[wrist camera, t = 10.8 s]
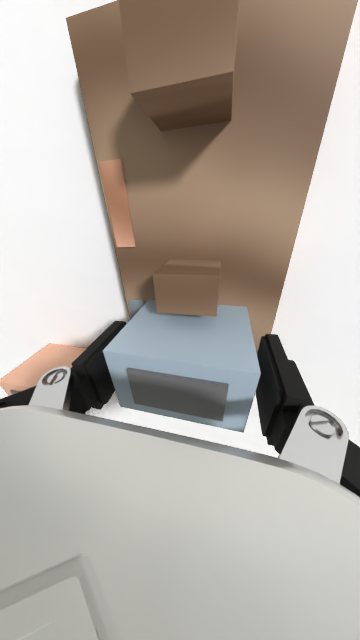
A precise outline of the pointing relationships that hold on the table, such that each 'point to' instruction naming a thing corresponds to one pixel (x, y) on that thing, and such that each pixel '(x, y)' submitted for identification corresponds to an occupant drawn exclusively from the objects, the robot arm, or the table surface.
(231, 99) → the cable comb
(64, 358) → the terracotta plug
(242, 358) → the slate plug
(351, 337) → the table surface
